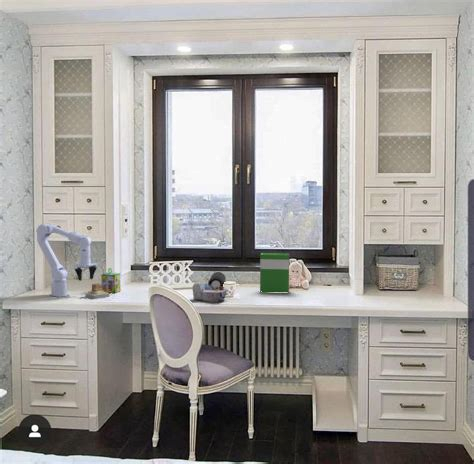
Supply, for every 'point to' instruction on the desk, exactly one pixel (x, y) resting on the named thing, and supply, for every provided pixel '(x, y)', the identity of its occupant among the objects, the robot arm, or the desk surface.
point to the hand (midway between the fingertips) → (85, 279)
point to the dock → (96, 295)
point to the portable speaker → (217, 280)
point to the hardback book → (274, 272)
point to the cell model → (208, 292)
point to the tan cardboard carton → (97, 289)
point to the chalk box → (110, 282)
